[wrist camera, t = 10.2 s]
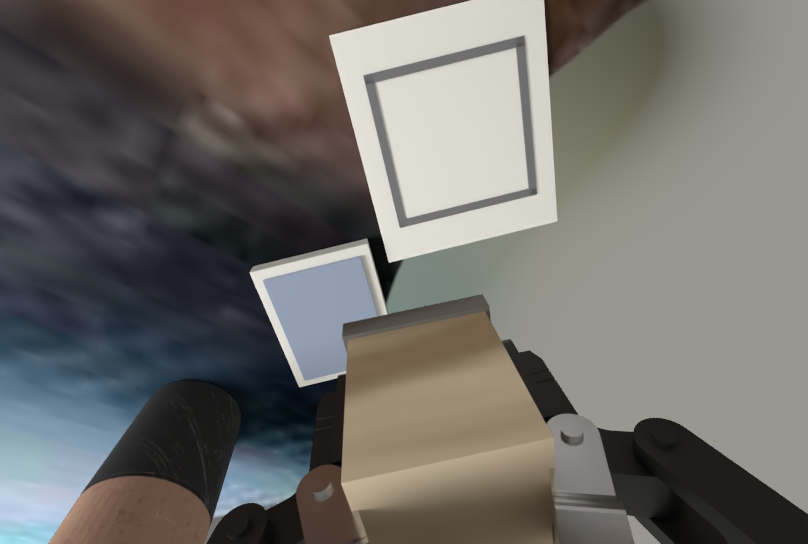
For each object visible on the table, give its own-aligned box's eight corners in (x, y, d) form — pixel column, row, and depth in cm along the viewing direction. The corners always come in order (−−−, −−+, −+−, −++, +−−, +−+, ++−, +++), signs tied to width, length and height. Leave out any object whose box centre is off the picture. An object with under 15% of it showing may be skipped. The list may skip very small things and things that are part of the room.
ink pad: (253, 266, 28) (248, 274, 27) (367, 238, 28) (367, 245, 27) (301, 378, 32) (298, 389, 31) (399, 354, 32) (401, 364, 31)
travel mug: (203, 360, 31) (-19, 760, 13) (264, 425, 34) (156, 818, 16) (121, 403, 32) (-196, 833, 14) (188, 462, 35) (3, 874, 17)
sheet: (329, 36, 23) (328, 35, 22) (540, -17, 23) (543, -19, 22) (388, 260, 29) (388, 263, 28) (555, 220, 29) (558, 221, 28)
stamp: (342, 323, 14) (332, 479, 8) (482, 294, 14) (560, 430, 8) (373, 426, 16) (380, 605, 10) (494, 400, 16) (563, 565, 11)
